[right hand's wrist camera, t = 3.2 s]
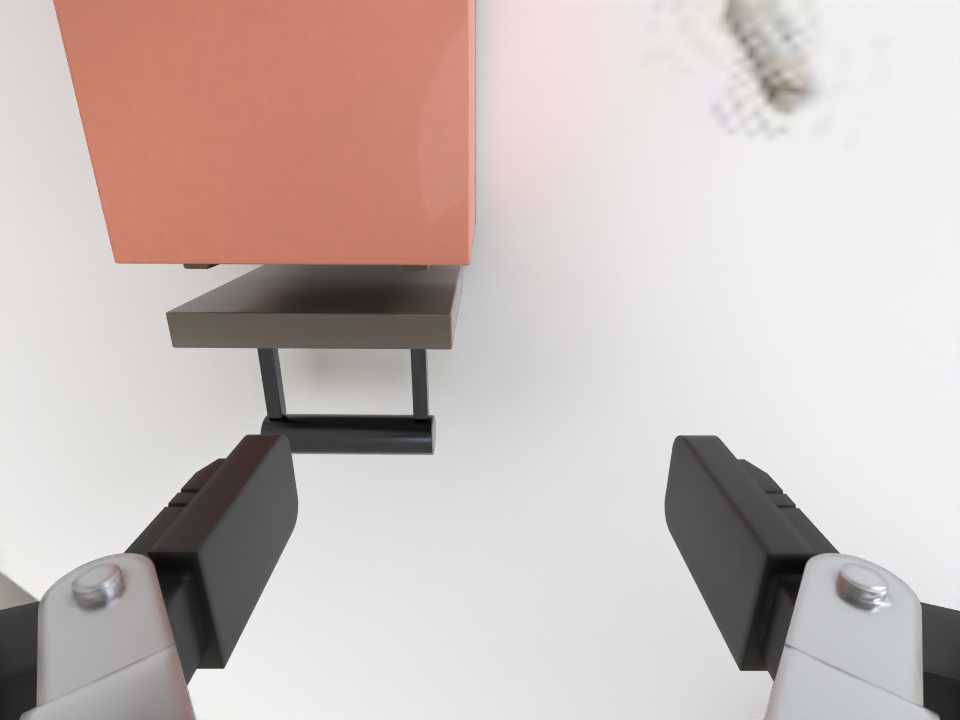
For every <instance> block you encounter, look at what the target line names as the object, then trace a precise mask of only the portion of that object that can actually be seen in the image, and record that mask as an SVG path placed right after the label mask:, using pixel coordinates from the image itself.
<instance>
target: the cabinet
mask: <svg viewBox="0 0 960 720" xmlns="http://www.w3.org/2000/svg"><path fill="white" fill-rule="evenodd" d="M53 2H54V6H55V10H56V14H57V18H58V23H59V27H60V31H61V35H62V40H63V44H64V48H65V52H66V57H67V61H68V65H69V69H70V73H71V78H72V82H73V86H74V90H75V95H76V99H77V103H78V107H79V111H80V116H81V120H82V124H83V128H84V133H85V137H86V141H87V145H88V150H89V154H90V158H91V162H92V166H93V171H94V175H95V179H96V183H97V188H98V192H99V196H100V200H101V204H102V209H103V213H104V217H105V221H106V226H107V230H108V234H109V238H110V243H111V247H112V251H113V255H114V259H115V262H116V263H136V264H313V265H469V263H470V256H471V249H472V242H473V234H474V227H475V223H476V0H53Z"/></svg>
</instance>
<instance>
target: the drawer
mask: <svg viewBox="0 0 960 720" xmlns="http://www.w3.org/2000/svg"><path fill="white" fill-rule="evenodd" d="M216 265H219V264H184V268H186V269H209V268H211V267H214V266H216ZM462 286H463V265H313V264H265V265H263V266H261V267H259V268H257V269H255V270H253V271H251V272H249V273H247V274H245V275H243V276H241V277H239V278H237V279H235V280H232V281H230V282H228V283H226V284H224V285H222V286H220V287H218V288H216V289H214V290H212V291H210V292H208V293H206V294H204V295H202V296H200V297H197V298H195V299H193V300H191V301H189V302H187V303H185V304H183V305H181V306H179V307H177V308H175V309H173V310H171V311H169V312H167V313H166V316H167V321H168V325H169V330H170V335H171V340H172V345H173V347H175V348H258V355H259V361H260V368H261V375H262V381H263V388H264V394H265V401H266V408H267V414H268V415H267V416H266V417H265V419H264V421H263V423H262V427H261V435H286V436H287V438H288V440H289V443H290V448H291V454H380V455H433V454H434V451H435V440H436V423H435V416H434V415H429V390H428V359H427V349H452V345H453V339H454V333H455V327H456V321H457V315H458V309H459V303H460V297H461V292H462ZM278 348H322V349H411V370H412V393H413V415H351V414H286V407H285V399H284V392H283V385H282V377H281V370H280V363H279V355H278Z"/></svg>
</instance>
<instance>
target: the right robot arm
mask: <svg viewBox="0 0 960 720" xmlns="http://www.w3.org/2000/svg"><path fill="white" fill-rule="evenodd" d="M168 504H169V505H168V507H165V508H164V509H163V510H162V511H161V512H160V513H159V514H158V515H157V517H156V518H155V519H154V520H153V521H152V522H151V523H150V524H149V526H148V527H147V528H146V529H145V530H144V531H143V532H142V533H141V534H140V536H139V537H138V538H137V539H136V540H135V541H134V542H133V543H132V544H131V546H130V547H129V548H128V549H127V550H126V551H125V552H124V553H122V554H115V555H110V556H106V557H102V558H99V559H96V560H93V561H91V562H88V563H86V564H84V565H82V566H80V567H78V568H76V569H74V570H72V571H71V572H69V573H67V574H66V575H65V576H63V577H62V578H60V579H59V580H58V581H57V582H56V583H54V584H53V585H52V586H51V587H50V588H49V589H48V590H47V592H46V593H45V594H44V596H43V597H42V599H41V601H39V602H35V603H30V604H26V605H21V606H17V607H12V608H8V609H3V610H0V720H196V717H195V714H194V710H193V706H192V702H191V699H190V695H189V691H188V688H187V685H188V683H189V682H190V680H191V678H192V676H193V674H194V673H195V671H196V669H224V668H225V666H226V664H227V662H228V660H229V658H230V656H231V654H232V652H233V650H234V648H235V646H236V644H237V642H238V640H239V638H240V636H241V634H242V632H243V630H244V628H245V626H246V624H247V622H248V620H249V618H250V616H251V614H252V612H253V610H254V608H255V606H256V604H257V602H258V600H259V598H260V596H261V594H262V592H263V590H264V588H265V586H266V584H267V582H268V580H269V578H270V576H271V574H272V572H273V570H274V568H275V566H276V564H277V562H278V560H279V558H280V556H281V554H282V552H283V550H284V548H285V546H286V544H287V542H288V540H289V538H290V536H291V534H292V532H293V529H294V527H295V524H296V520H297V514H298V496H297V489H296V482H295V475H294V468H293V461H292V454H291V448H290V443H289V440H288V438H287V436H286V435H246V436H245V437H244V438H243V439H242V440H241V442H240V443H239V444H238V445H237V446H236V447H235V449H234V450H233V451H232V452H231V453H230V455H229V456H228V457H227V458H226V459H217V460H216V461H214V462H213V463H211V464H209V465H208V466H206V467H204V468H203V469H201V470H200V471H198V472H196V473H195V474H194V475H193V477H192V478H191V479H190V480H189V481H188V482H187V483H186V484H185V485H184V487H183V488H182V489H181V493H177V494H176V495H175V497H174V498H173V499H172V500H171V501H170V502H169V503H168ZM665 516H666V522H667V526H668V529H669V531H670V533H671V535H672V537H673V539H674V541H675V543H676V545H677V547H678V549H679V551H680V553H681V555H682V557H683V559H684V561H685V563H686V565H687V567H688V569H689V571H690V573H691V575H692V577H693V579H694V580H695V582H696V584H697V586H698V588H699V590H700V592H701V594H702V596H703V598H704V600H705V602H706V604H707V606H708V608H709V610H710V612H711V614H712V616H713V618H714V620H715V622H716V624H717V626H718V628H719V630H720V632H721V634H722V636H723V638H724V640H725V642H726V644H727V646H728V648H729V650H730V652H731V654H732V656H733V658H734V659H735V661H736V663H737V665H738V667H739V669H740V671H768V672H769V674H770V675H771V677H772V679H773V681H774V684H773V688H772V691H771V695H770V699H769V702H768V706H767V710H766V714H765V717H764V720H960V611H957V610H953V609H948V608H944V607H939V606H935V605H930V604H926V603H922V602H920V601H919V599H918V597H917V596H916V594H915V593H914V592H913V590H912V589H911V588H910V587H909V586H908V585H907V584H906V583H904V582H903V581H902V580H901V579H900V578H898V577H897V576H895V575H894V574H892V573H891V572H889V571H888V570H886V569H884V568H882V567H880V566H878V565H876V564H874V563H872V562H869V561H867V560H864V559H861V558H858V557H854V556H850V555H845V554H840V553H839V552H838V551H837V550H836V549H835V548H834V546H833V545H832V544H831V543H830V542H829V541H828V540H827V539H826V538H825V537H824V535H823V534H822V533H821V532H820V531H819V530H818V529H817V528H816V527H815V525H814V524H813V523H812V522H811V521H810V520H809V519H808V518H807V517H806V516H805V514H804V513H803V512H802V511H801V510H800V509H799V508H796V506H795V503H794V502H793V501H792V500H791V499H790V498H789V497H788V496H787V495H786V494H783V490H782V489H781V488H780V487H779V486H778V485H777V484H776V483H775V481H774V480H773V479H772V478H771V477H770V476H769V475H768V474H767V473H765V472H764V471H762V470H761V469H759V468H757V467H756V466H754V465H752V464H751V463H749V462H748V461H746V460H737V459H736V457H735V456H734V455H733V454H732V453H731V452H730V450H729V449H728V448H727V447H726V446H725V444H724V443H723V442H722V441H721V440H720V439H719V438H718V437H717V436H677V437H676V439H675V441H674V443H673V448H672V455H671V462H670V468H669V475H668V482H667V489H666V496H665Z"/></svg>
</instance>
